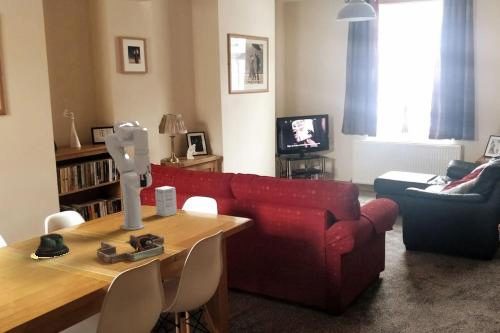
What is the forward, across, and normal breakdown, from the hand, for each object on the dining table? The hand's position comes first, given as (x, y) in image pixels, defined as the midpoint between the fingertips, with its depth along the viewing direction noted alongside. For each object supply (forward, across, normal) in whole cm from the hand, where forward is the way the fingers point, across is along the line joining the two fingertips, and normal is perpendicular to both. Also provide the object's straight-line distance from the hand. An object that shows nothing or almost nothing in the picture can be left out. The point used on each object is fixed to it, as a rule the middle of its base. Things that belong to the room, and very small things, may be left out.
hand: (143, 186), depth 270 cm
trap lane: (+27, +14, -17) cm, 35 cm away
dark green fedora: (+28, -11, -46) cm, 55 cm away
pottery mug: (+27, +20, -15) cm, 37 cm away
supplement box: (+27, -33, +35) cm, 55 cm away
